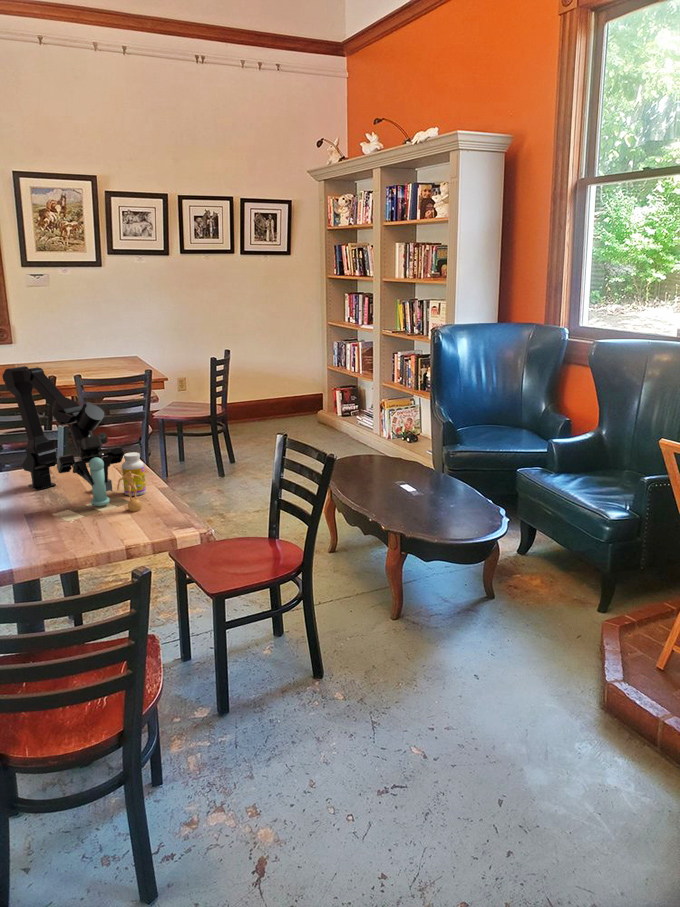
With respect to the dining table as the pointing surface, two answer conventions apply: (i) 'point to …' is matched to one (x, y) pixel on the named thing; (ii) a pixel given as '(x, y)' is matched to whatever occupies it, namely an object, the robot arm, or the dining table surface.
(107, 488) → the plain grey cube
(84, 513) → the board
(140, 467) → the supplement bottle
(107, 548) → the dining table surface
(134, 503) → the figurine
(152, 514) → the dining table surface
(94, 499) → the pawn
